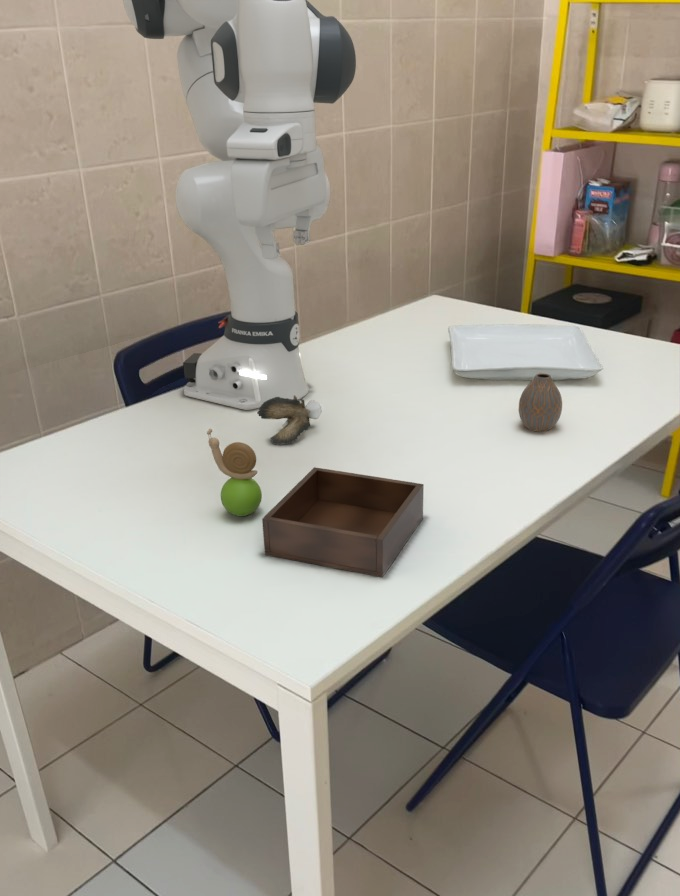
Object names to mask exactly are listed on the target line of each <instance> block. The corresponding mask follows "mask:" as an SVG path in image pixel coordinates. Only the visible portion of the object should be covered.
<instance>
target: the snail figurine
mask: <svg viewBox="0 0 680 896" xmlns="http://www.w3.org/2000/svg"><path fill="white" fill-rule="evenodd" d="M212 433H213V429H212V428H208V430H207V431H206V435H208V436H209V437H208V446H209V448H210V450H211V454H212V457H213V460H214V463H215V464H216V466H217V468H218V470H219V471H220V472H221V473H222V474H224V475H225V476H227V477H230V478H228V479H227V480H226V481H225V482H224V483H223V485H222V487H221V490H220V501H221V504H222V506H223V508H224V509H225V510H226V511H227V512H228V513H230V514H231V515H233V516H238V517H245V516H249V515H251V514H253V513H254V512H256V511H257V509H258V508H259V507H260V505H261V503H262V498H263V497H262V495H263V494H262V493H263V492H262V490H261V487H260V485H259V484H258V482H257V481H256V480H255V479H253V478H254V477H256V475H257V474H258V470H256V469H254V468H256V465H257V456H256V453H255V451H254V449H253V448H252V447H251V446H250V445H248V444H247V443H245V442H240V441H236V442H231V443H230V444H228V445H226V447H225V448H224V450H223V451H222V452H221V449H220V440H219V439H218V438H217V437H212ZM253 469H254V470H253Z"/></svg>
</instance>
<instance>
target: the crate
mask: <svg viewBox="0 0 680 896" xmlns="http://www.w3.org/2000/svg"><path fill="white" fill-rule="evenodd" d="M424 485H425V484H424V483H418V482H412V481H405V480H399V479H393V478H386V477H380V476H374V475H373V476H372V475H368V474H367V475H366V474H361V473H355V472H354V473H353V472H347V471H342V470H334V469H328V468H321V467H315V466H314V467H313V468H311V470H309V472H308V473H307V474H306V475H304V476H303V478H301V480H300V481H298V483H297V484H295V486H293V488H291V489H290V490H289V491H288V493H287V494H286V495H284V496H283V497H282V499H281V500H279V501H278V502H277V503H276V504H275V505H274V506H273V507H272V508H271V509H270V511H268V512H267V513H266V514H265V515H264V516H263V517H262V518H261V523H262V536H263V546H264V555H265V556H270V557H276V558H281V559H284V560H285V559H286V560H291V561H296V562H301V563H307V564H312V565H316V566H323V567H327V568H331V569H336V570H337V569H338V570H344V571H347V572H353V573H358V574H364V575H369V576H373V577H374V576H375V577H379V578H383V577H384V576H385V575H386V574H387V572H388V570H389V568H391V566H392V564H393V563H394V562H395V560H396V558H397V557H398V556H399V554H400V552H401V551H402V550H403V548H404V547H405V545H406V544H407V543H408V541H409V540H410V538H411V537H412V535H413V533H414V532H415V531H416V529H417V528H418V526H419V525H420V524H421V522H422V520H423V519H424Z"/></svg>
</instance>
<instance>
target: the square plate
mask: <svg viewBox="0 0 680 896" xmlns="http://www.w3.org/2000/svg"><path fill="white" fill-rule="evenodd" d="M447 332H448V338H449V340H450V341H449V342H450V349H451V368H452V371H453V372H455V374H456V375H457V376H459V377H461V378H466V379H476V380H477V379H478V380H483V381H532V380H533V379H534V377H535V375H536V374H539V373H546V374H549V375H550V376H551V378H552V381H565V380H572V379H587V378H591V377H593V376H595V375H596V374H598V373H600V372H601V371H602V370H604V367H603V364H602V363H601V361H600V359H599V358H598V356H597V354H596V352H595V351H594V349H593V347H592V345H591V344H590V342H589V340H588V339H587V336H586V335H585V333H584V331H583V329H582V327H580V326H579V325H569V324H568V325H567V324H566V325H565V324H538V323H537V324H536V323H535V324H534V323H504V324H503V323H500V324H499V323H498V324H496V323H495V324H491V323H490V324H465V325H463V324H462V325H460V324H459V325H449V326H448V327H447Z"/></svg>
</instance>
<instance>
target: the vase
mask: <svg viewBox="0 0 680 896" xmlns="http://www.w3.org/2000/svg"><path fill="white" fill-rule="evenodd" d="M562 411H563V399H562V394H561V392H560V390H559V389H558V387H557V385H556V384H555V382H554V380H552V378H551V376H550V375H549V374H546V373H539V374H536V375H535V377H534V379H533V380H531V382H530V383H529V384H527V386H526V387H525V388H524V389H523V391H522V393H521V394H520V398H519V401H518V416H519V419H520V421H521V423H522V425H524V427H525V428H527V429H528V430H530V431H534V432H547V431H550V430H551V429H552V428H553V427H555V426H556V425H557V423H558V422H559V420H560V418H561V415H562Z"/></svg>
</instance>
